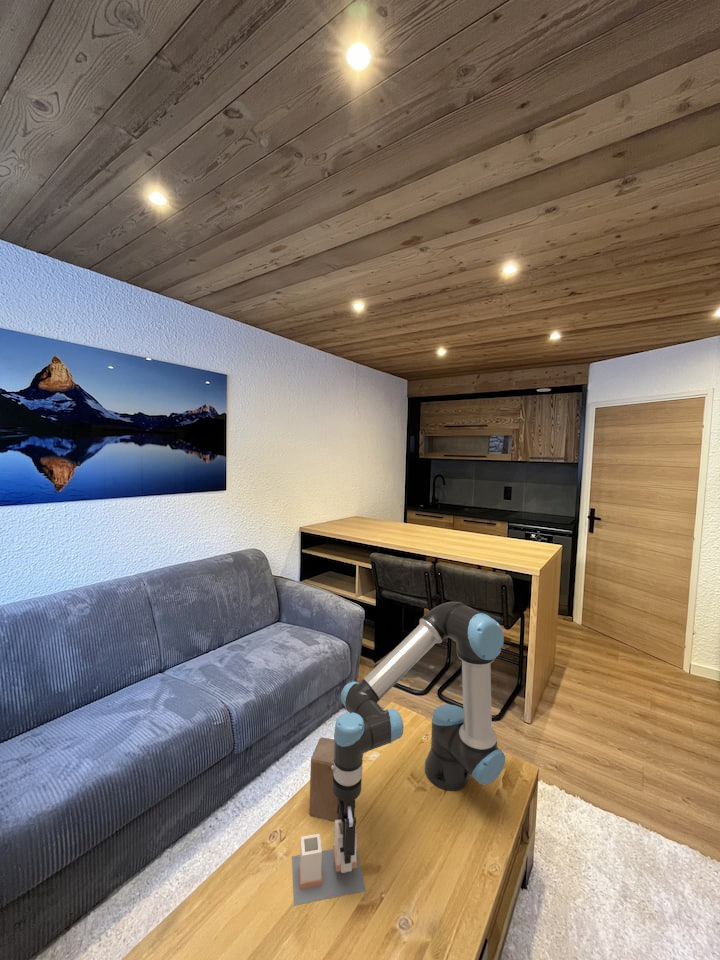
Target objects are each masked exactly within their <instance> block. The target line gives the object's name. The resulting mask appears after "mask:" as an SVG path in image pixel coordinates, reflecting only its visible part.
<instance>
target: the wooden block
mask: <svg viewBox="0 0 720 960" xmlns="http://www.w3.org/2000/svg"><path fill="white" fill-rule="evenodd" d="M310 757H311V758H310V773H309V774H310V777H309V816H310V817H312V818H317V819H321V820H325V821H330V822H334V823H335V820H338V815H337V799H338V798H337V797H336V796H335V795H334V793H333V770H332V769H331V766H332V765H334V738H333V739H332V738H327V737H319V739H318V741H317V744H316V746H315V749H314V750H313V753H312V755H311V756H310Z"/></svg>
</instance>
